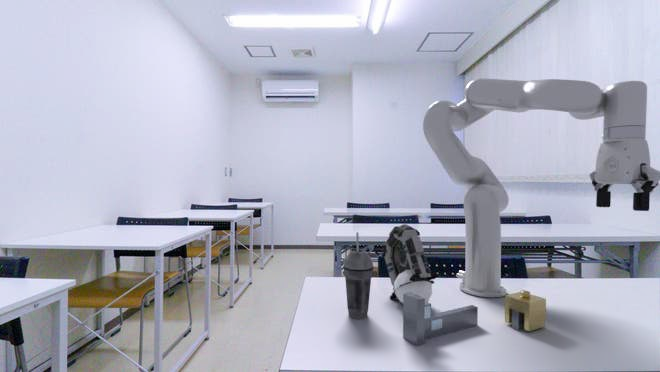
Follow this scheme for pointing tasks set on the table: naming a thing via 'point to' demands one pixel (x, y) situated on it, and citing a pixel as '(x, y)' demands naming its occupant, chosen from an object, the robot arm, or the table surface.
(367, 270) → the beverage cup
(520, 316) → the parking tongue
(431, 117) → the robot arm
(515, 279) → the table surface
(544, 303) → the tan box with knob
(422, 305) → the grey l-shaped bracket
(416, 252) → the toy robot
